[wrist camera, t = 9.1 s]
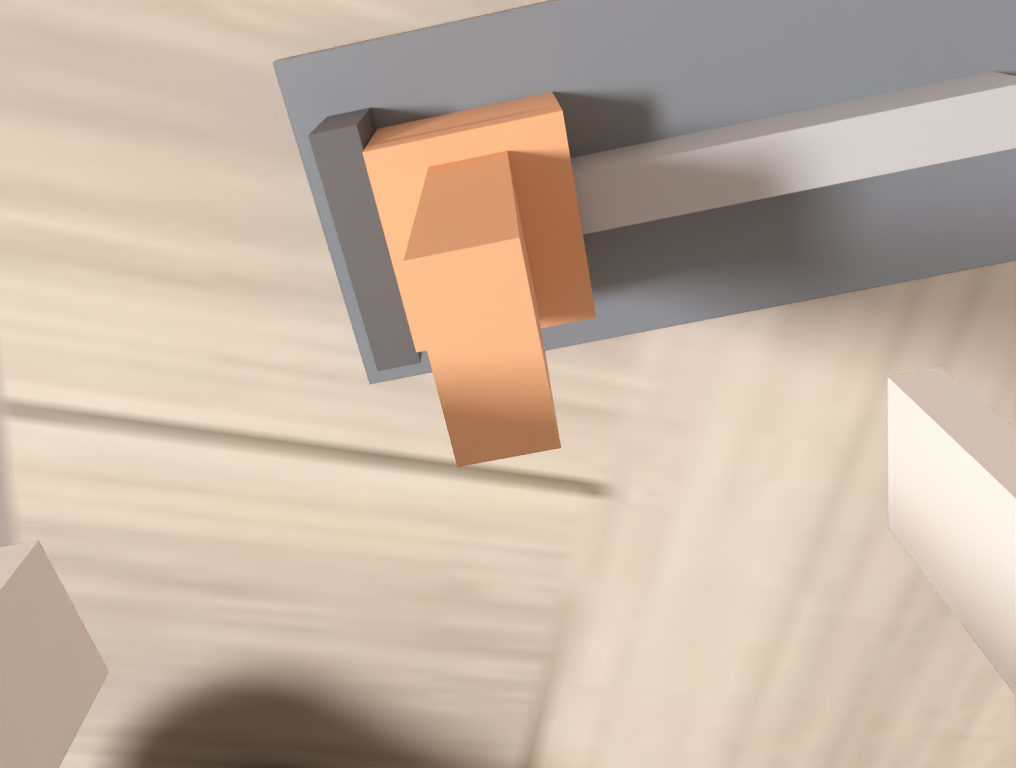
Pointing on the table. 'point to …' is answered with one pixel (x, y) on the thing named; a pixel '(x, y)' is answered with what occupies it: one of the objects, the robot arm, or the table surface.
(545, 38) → the rail
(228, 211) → the table surface
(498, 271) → the slider
